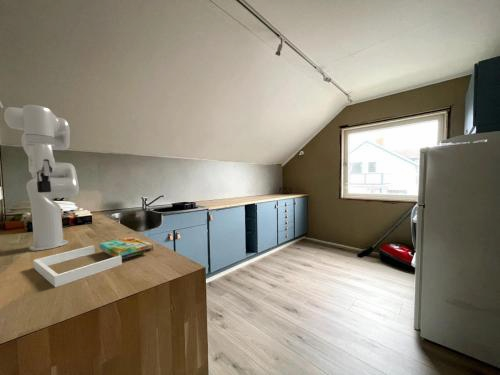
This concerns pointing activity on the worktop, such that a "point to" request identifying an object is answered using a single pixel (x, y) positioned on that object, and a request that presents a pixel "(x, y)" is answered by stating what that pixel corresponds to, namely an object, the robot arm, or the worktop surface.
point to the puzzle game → (125, 247)
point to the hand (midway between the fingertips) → (44, 192)
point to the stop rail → (150, 248)
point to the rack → (75, 274)
